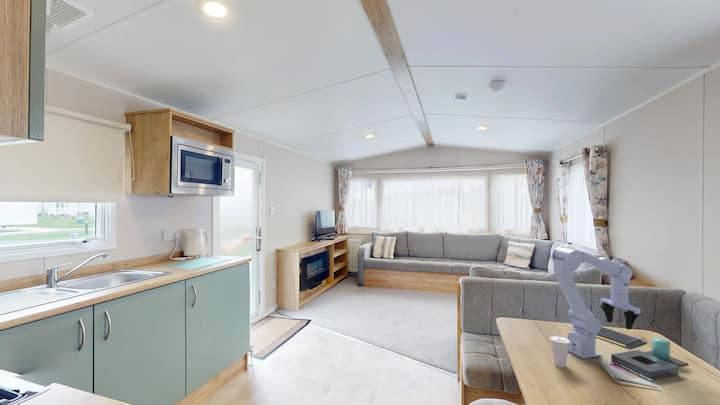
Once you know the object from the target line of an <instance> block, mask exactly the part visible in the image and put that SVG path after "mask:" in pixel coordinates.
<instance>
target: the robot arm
mask: <svg viewBox="0 0 720 405" xmlns="http://www.w3.org/2000/svg"><path fill="white" fill-rule="evenodd" d="M550 258H551V261H552V263H553V274H554V276H555V278H556V280H557V283H558V285H559V287H560V289H561V291H562V293H563V296H564V297H565V300H566V302H567V304H568V306H569V308H570V309H569V310H568V316H569V317H568V318H569V323H570V324H571V325H572V328H573V330H572V331H571V332H569V333H568V335H567V339H568V340H569V341H570V345H569V349H568V353H571V354H573V355H576V356H577V357H580V358H581V359H588V358H589V359H591V358H594V357H595V358H596V357H600V356H602V354H601V353H600V352H597V351H596V339H597V338H596V334H597V333H598V332H599V331H600V329H601V327H602V323H601V322H600V320H599V319H597V318H596V316H595V314H594V313H593V312H592V311H591V310H590V309H588V308H587V306H586V303H585V301H584V299H583V297H582V295H581V293H580V289H578V288H579V287H578V286H577V284H576V282H575V280H574V277H573V275H572V274H575V273H576V271H577V270H578V269H579V268H580V266H581V264H584V263H587V264H589V265H591V266H592V265H593V266H594V267H595V269H596V270H597V271H600V272H601V273H605V274H607V275H608V276H610V299H609V298H605V297H601V298H600V300H599V302H600V308H601V309H602V311H603V312H604V315H605V318H606V321H607V323H613V320H614V311H615V308H618V309H619V310H620V309H621V310H624V311H623V315H624V320H625V328H626V329H625V330H629V331H630V330H633V326H634V323H635V321H636V320H637V318H639V316H640V314H641V308H638V307H636V306H634V305H631V304H630V303H629V284H630V283H631V278H632V277H633V274H634V272H633V270H632V269H631V267H630V266H628V265H626V264H621V263H620V261H616V260H611V257H608V256H604V257H603V256H602V257H597V256H594V255H592V254H589V253H587V252H585V251H581V250H578V249H571V248H566V247H562V246H558V247H555V248H554V249H553V251H552V253H551V256H550Z"/></svg>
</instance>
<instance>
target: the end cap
mask: <svg viewBox="0 0 720 405" xmlns="http://www.w3.org/2000/svg"><path fill="white" fill-rule="evenodd" d="M651 345H652V350H651V351H652V356H654V357H656V358H659V359H661V360H664V361H670V356H671V342H670V341H669V340H667V339H664V338H660V337H652V344H651Z"/></svg>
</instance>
